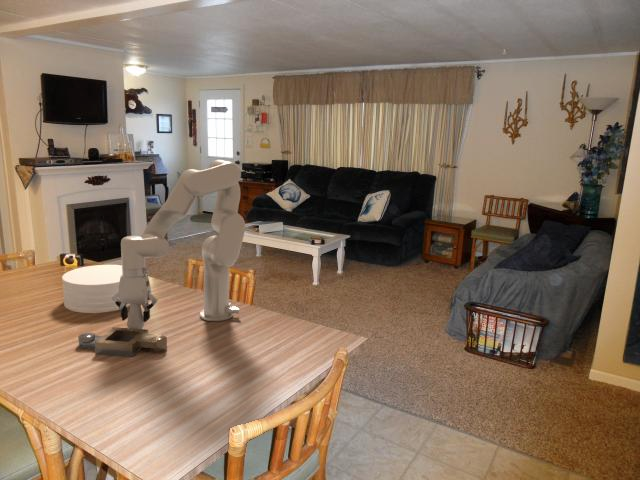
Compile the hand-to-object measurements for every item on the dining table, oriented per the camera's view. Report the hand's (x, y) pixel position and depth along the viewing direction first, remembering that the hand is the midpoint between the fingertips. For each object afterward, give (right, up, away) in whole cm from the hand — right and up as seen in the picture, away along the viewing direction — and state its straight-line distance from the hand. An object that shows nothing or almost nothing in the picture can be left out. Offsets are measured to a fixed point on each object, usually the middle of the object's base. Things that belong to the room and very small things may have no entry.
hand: (135, 319), depth 167 cm
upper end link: (+5, -7, -13) cm, 16 cm away
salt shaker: (0, -4, +1) cm, 4 cm away
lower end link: (-3, -7, -13) cm, 15 cm away
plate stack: (-24, +3, +27) cm, 37 cm away
